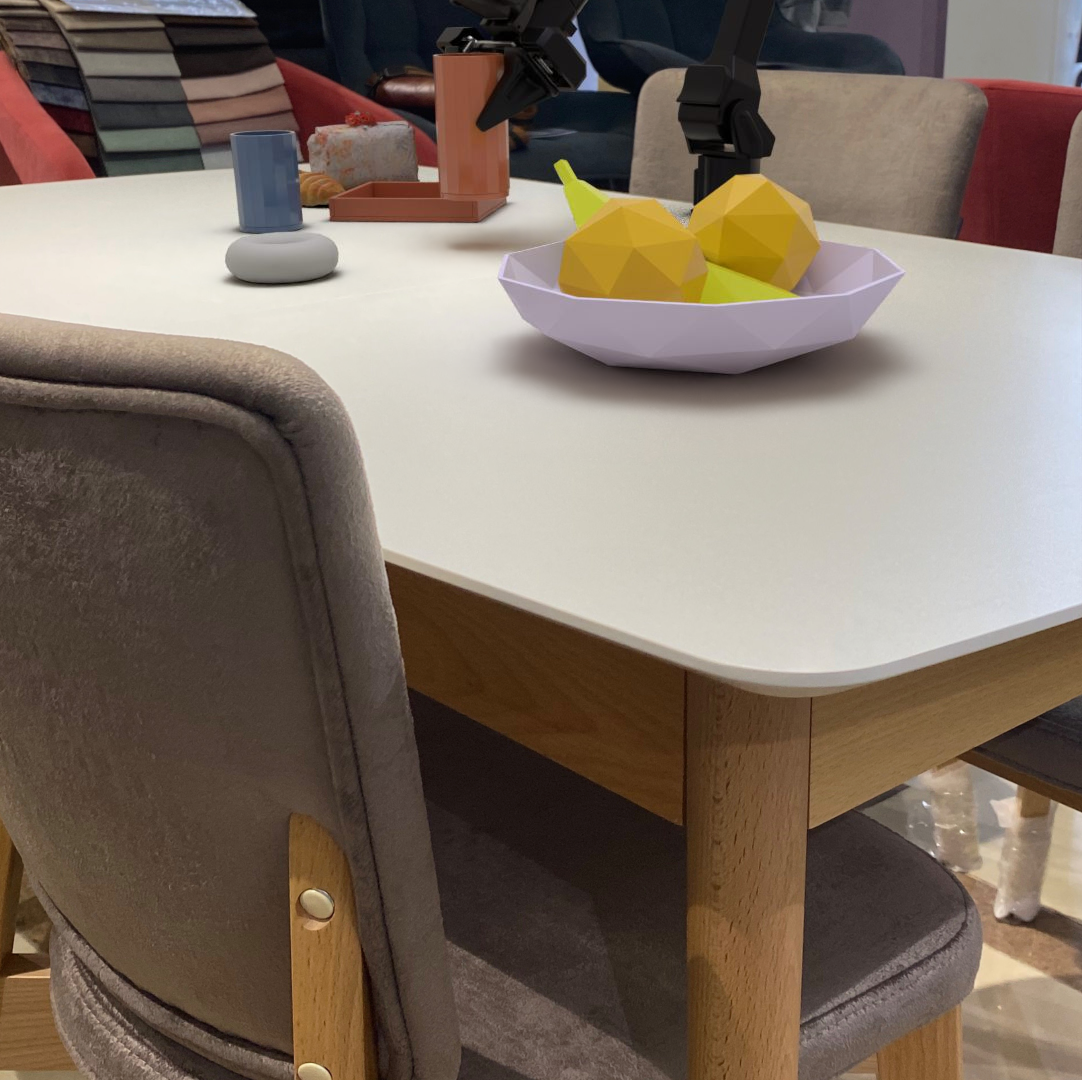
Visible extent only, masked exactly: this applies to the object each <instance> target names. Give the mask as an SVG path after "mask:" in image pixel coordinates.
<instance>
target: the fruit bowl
mask: <svg viewBox="0 0 1082 1080" xmlns="http://www.w3.org/2000/svg"><path fill="white" fill-rule="evenodd" d="M553 167H554V170H555V172H556V173H557V175H558V177H559V179H560V181H561V183H562V184H563V188H562V189H563V193H564V197H565V199H566V202H567V205H568V208H569V210H570V212H571V215H572V218H573V220H574V223H575V226H576V228H577V229H576V230H575V231H574V232H572V234H571V235H569V236H568V237H567V238H566V239H564V240H560V241H556V242H552V243H548V244H544V245H540V246H535V247H531V248H527V249H523V250H519V251H515V252H514V251H513V252H510V253H506V254H503V258H502V261H501V263H500V268H499V270H498V273H497V274H498V275H497V280H498V282H499V284H500V285H501V287H502V288H503V290H504V291H505V293H506V294H507V297H509V299H510V301H511V302H512V304H513V306H514V307H515V309H516V311H517V313H518V314H519V316H520V317H521V319H522V320H523V321H525V322H526V323H527V324H529V325H531V327H533V328H534V329H536V330H538V331H539V332H540V333H541V334H543V335H544V336H546V337H549V338H551V339H553V340H555V341H557V342H558V343H561V344H563V345H565V346H567V347H570V348H572V349H574V350H575V351H578V352H579V353H582V354H584V355H586V356H588V357H590V358H592V359H595V360H597V361H598V362H601V363H602V364H604V365H607V366H610V367H621V368H622V367H623V368H635V369H652V370H666V371H681V372H694V373H707V374H708V373H709V374H722V375H723V374H724V375H736V376H737V375H741V374H744V373H747V372H750V371H753V370H756V369H760V368H762V367H766V366H769V365H773V364H775V363H778V362H779V363H780V362H782V361H785V360H788V359H792V358H795V357H798V356H801V355H805V354H808V353H812V352H814V351H817V350H821V349H824V348H827V347H830V346H833V345H834V346H835V345H837V344H841V343H843V342H847V341H850V340H853V339H854V338H855V337H856V336H857V335H858V334H859V332H860V331H861V330H862V329H863V327H864V326H865V325H866V323H867V322H868V321H869V319H870V318H871V317H872V316H873V315H874V314H875V312H876V311H877V310H878V308H879V307H880V306H881V305H882V303H883V302H884V301H885V300H886V298H887V297H888V296H889V294H890V293H891V292H892V291H893V289H895V287H896V286H897V285H898V284H899V282H900V281H901V280H902V278H903V277H904V276H905V275H906V273H907V271H906V270H904V269H903V268H902V267H901V266H899V265H898V264H897V263H895V261H893V260H892V259H891V258H890V257H888V256H887V255H886V254H884V253H883V252H882V251H881V250H880V249H878V248H873V247H867V246H861V245H856V244H849V243H843V242H837V241H831V240H827V239H826V240H825V239H821V238H819V235H818V231H817V228H816V224H815V220H814V216H813V213H812V210H811V206H810V203H808V202H807V201H805V200H804V199H801V198H800V197H799V196H797V195H795V194H794V193H792V192H790V191H789V190H787V189H786V188H784V187H783V186H781V185H779V184H778V183H776V182H774V181H773V180H772V179H769V178H768V177H767V176H765V175H763V174H762V173H760V174H746V175H735V176H734V177H732V178H731V179H730V180H729V181H727V182H726V183H725V184H723V185H722V186H721V187H719V188H718V189H717V190H715V191H714V192H713V193H711V194H710V195H709V196H707V197H706V198H705V199H703V200H702V201H701V202H699V203H698V204H697V205H695V206H694V205H693V208H694V209H693V212H692V213H691V215H690V217H689V220H688V224H687V227H686V226H684V224H682V222H681V221H679V220H678V219H677V218H676V217H675V216H674V215H673V214H672V213H671V212H670V211H668V210H667V209H666V208H665V206H663V204H662V203H660V202H659V201H658V200H657V199H655V198H635V197H634V198H633V197H611V196H609V195H607V194H606V193H605V192H603V191H601V190H600V189H598V188H596V187H595V186H593V185H591V184H590V183H588V182H587V181H585V180H582V179H578V177H577V176H576V174H575V173H574V171H573V169H572V167H571V165H570V163H569V162H568V160H567V159H561V158H560V159H559V160H558V161H557V162H555V163H554V164H553Z"/></svg>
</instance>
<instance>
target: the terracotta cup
mask: <svg viewBox="0 0 1082 1080" xmlns="http://www.w3.org/2000/svg"><path fill="white" fill-rule="evenodd" d="M432 67H433V87H434V88H433V89H434V107H435V108H434V109H435V111H434V113H435V129H436V131H435V133H436V151H437V153H436V154H437V172H438V174H437V175H438V182H439V190H440V197H441V198H443V199H447V200H454V201H485V200H495V199H501V198H505V197H507V198H508V197H509V196H510V189H511V179H510V177H511V175H510V137H509V135H510V134H509V119H507V120H505V121H504V122H502V123H500V124H498V125H496V126H494V127H493V128H491V129H489V130H487V131H485V132H482V131H480V129H479V128H478V127H477V126H476V121H477V119H478V117H479V115H480V113H481V111H482V109H483V108H484V106H485V104H486V103H487V101H488V99H489V97H490V96H491V94H492V92H493V90H494V89H495V87H496V85H497V83H498V82H499V80H500V78H501V77H502V75H503V72H504V53H449V54H444V53H438V54H437V53H436V54H432Z"/></svg>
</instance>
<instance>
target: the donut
mask: <svg viewBox="0 0 1082 1080" xmlns="http://www.w3.org/2000/svg"><path fill="white" fill-rule="evenodd" d="M339 254H340V253H339V249H338V246H337V245H336V243H335V241H334V240H332V239H331V238H330V237H328V236H326V235H325V234H324V235H323V234H322V233H317V232H308V231H307V232H306V231H288V232H275V233H256V234H251V235H246V236H242V237H240V238H238V239H236V240H234V241H232V242H231V243H230V245H229V246H228V247H227V250H226V252H225V255H224V262H225V266H226V268H227V270H228V271H229V272H230V273H231V275H233V276H234V277H236V278H237V279H239V280H242V281H244V282H249V283H257V284H290V283H298V282H306V281H313V280H316V279H319V278H323V277H325V276H326V275H328V274H330V273H332V272H333V271H334V270H335V269H336V268H337V265H338V263H339V256H340V255H339Z"/></svg>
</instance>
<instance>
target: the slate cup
mask: <svg viewBox="0 0 1082 1080" xmlns="http://www.w3.org/2000/svg"><path fill="white" fill-rule="evenodd" d="M229 139H230V149H231V158H232V167H233V169H232V170H233V178H234V188H235V196H236V205H237V206H236V207H237V216H238V224H239V231H241V232H242V233H248V234H264V233H275V232H295V231H299V230H301V229H302V228H304V216H303V206H302V204H301V192H300V181H299V170H300V169H299V159H298V147H297V135H296V132H295V131H294V130H283V129H281V130H279V129H275V130H272V129H271V130H270V129H267V130H250V131H249V130H248V131H239V132H231V133H230V134H229Z"/></svg>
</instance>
